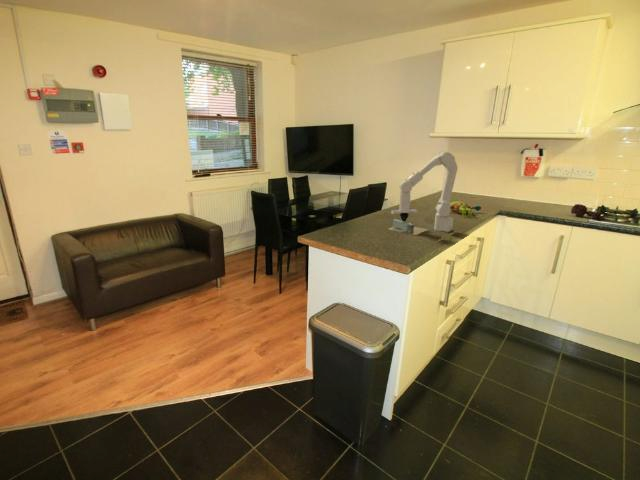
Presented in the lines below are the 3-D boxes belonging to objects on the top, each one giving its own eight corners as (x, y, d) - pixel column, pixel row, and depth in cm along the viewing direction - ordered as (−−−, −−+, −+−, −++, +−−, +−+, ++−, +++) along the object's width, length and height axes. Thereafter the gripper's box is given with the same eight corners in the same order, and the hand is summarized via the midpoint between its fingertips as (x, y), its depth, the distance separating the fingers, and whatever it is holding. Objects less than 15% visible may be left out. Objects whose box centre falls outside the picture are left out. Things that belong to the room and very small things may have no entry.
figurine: (601, 223, 223) (571, 212, 235) (608, 211, 220) (577, 202, 232) (597, 224, 217) (566, 214, 229) (603, 213, 213) (572, 203, 226)
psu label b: (414, 230, 190) (414, 230, 190) (410, 231, 188) (410, 231, 188) (404, 228, 194) (404, 228, 194) (401, 229, 191) (401, 229, 191)
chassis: (428, 231, 193) (428, 222, 191) (416, 236, 182) (416, 227, 181) (399, 225, 204) (400, 217, 203) (387, 230, 194) (387, 222, 192)
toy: (454, 208, 257) (455, 198, 255) (488, 215, 234) (490, 204, 232) (433, 210, 245) (434, 200, 243) (467, 218, 222) (468, 206, 220)
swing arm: (417, 232, 185) (417, 224, 184) (411, 232, 184) (412, 224, 182) (397, 225, 199) (397, 217, 198) (391, 226, 197) (392, 218, 196)
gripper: (414, 201, 196) (412, 223, 200) (390, 201, 194) (388, 224, 198) (419, 203, 189) (417, 226, 193) (394, 204, 187) (392, 227, 191)
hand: (403, 225), depth 195 cm, fingers closed, pressing on swing arm
